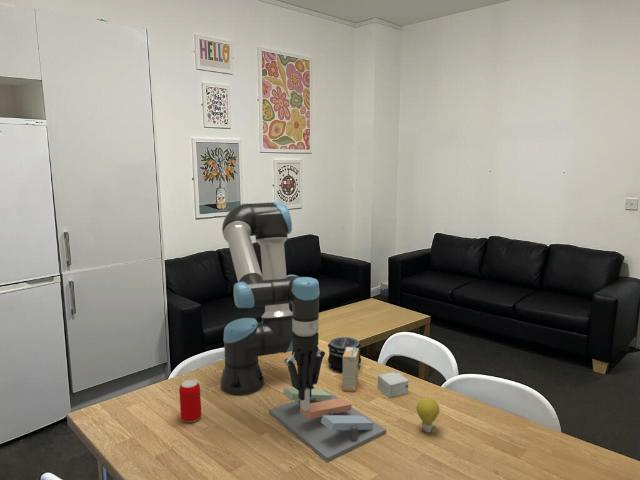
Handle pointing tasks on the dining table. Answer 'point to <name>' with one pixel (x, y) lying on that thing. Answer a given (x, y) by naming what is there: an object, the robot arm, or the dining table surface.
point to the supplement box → (350, 369)
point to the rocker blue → (346, 422)
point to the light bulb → (427, 412)
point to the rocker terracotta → (326, 408)
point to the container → (341, 351)
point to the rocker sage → (316, 393)
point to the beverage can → (190, 401)
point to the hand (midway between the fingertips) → (304, 408)
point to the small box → (392, 384)
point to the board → (324, 430)
